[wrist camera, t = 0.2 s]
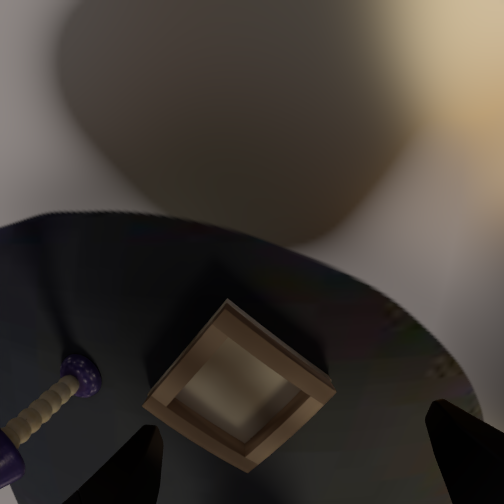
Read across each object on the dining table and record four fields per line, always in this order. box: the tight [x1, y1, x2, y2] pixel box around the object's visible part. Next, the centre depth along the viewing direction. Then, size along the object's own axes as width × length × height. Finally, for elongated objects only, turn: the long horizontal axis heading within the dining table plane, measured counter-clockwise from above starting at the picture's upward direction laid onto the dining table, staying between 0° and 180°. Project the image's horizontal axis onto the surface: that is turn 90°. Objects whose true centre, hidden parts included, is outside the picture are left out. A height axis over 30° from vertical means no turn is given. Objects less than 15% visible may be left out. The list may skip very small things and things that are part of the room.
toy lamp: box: [0, 354, 102, 489], centre depth 15 cm, size 5×5×17 cm
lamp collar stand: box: [142, 298, 336, 473], centre depth 22 cm, size 11×11×3 cm
